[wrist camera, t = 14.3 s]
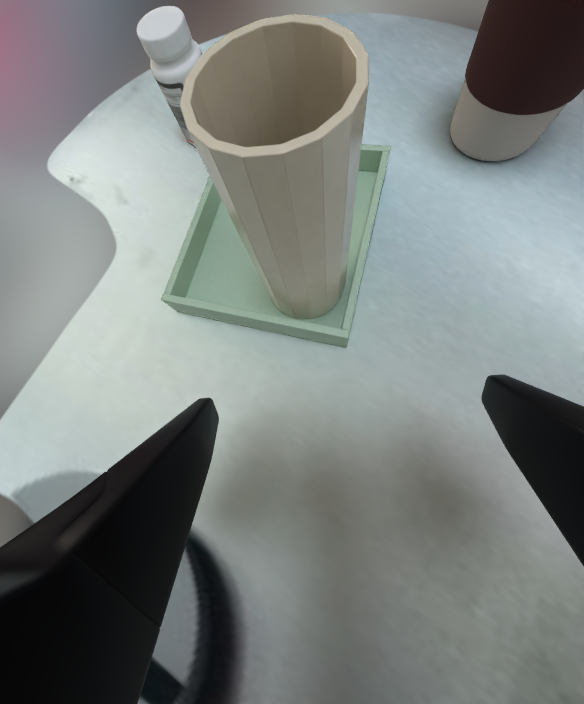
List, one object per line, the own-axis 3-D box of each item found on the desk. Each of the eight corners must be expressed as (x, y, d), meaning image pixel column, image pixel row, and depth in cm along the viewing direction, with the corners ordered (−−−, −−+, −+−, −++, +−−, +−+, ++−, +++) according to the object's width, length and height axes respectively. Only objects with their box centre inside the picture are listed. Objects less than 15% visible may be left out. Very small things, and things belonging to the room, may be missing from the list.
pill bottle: (219, 108, 30) (178, -8, 22) (233, 135, 28) (195, 23, 20) (181, 127, 30) (125, 18, 22) (193, 155, 28) (140, 51, 20)
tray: (345, 347, 21) (348, 338, 19) (177, 311, 24) (160, 299, 22) (385, 172, 25) (391, 145, 22) (234, 159, 28) (225, 134, 25)
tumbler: (356, 303, 21) (403, 104, 8) (282, 330, 22) (204, 184, 8) (328, 240, 23) (326, -10, 10) (259, 266, 23) (165, 59, 10)
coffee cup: (548, 88, 24) (860, -386, 10) (559, 176, 22) (981, -273, 8) (433, 95, 26) (560, -306, 12) (432, 177, 24) (588, -192, 9)
